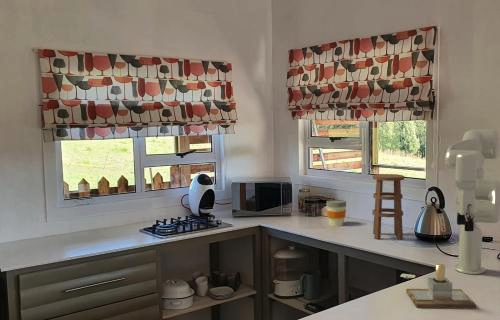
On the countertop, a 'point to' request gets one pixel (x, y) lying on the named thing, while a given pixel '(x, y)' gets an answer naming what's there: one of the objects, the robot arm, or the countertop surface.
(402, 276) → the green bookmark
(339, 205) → the reusable coffee cup
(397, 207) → the stool
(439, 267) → the hinge pin
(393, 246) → the countertop surface
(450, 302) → the walnut board
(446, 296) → the grey stepped block
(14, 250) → the countertop surface
